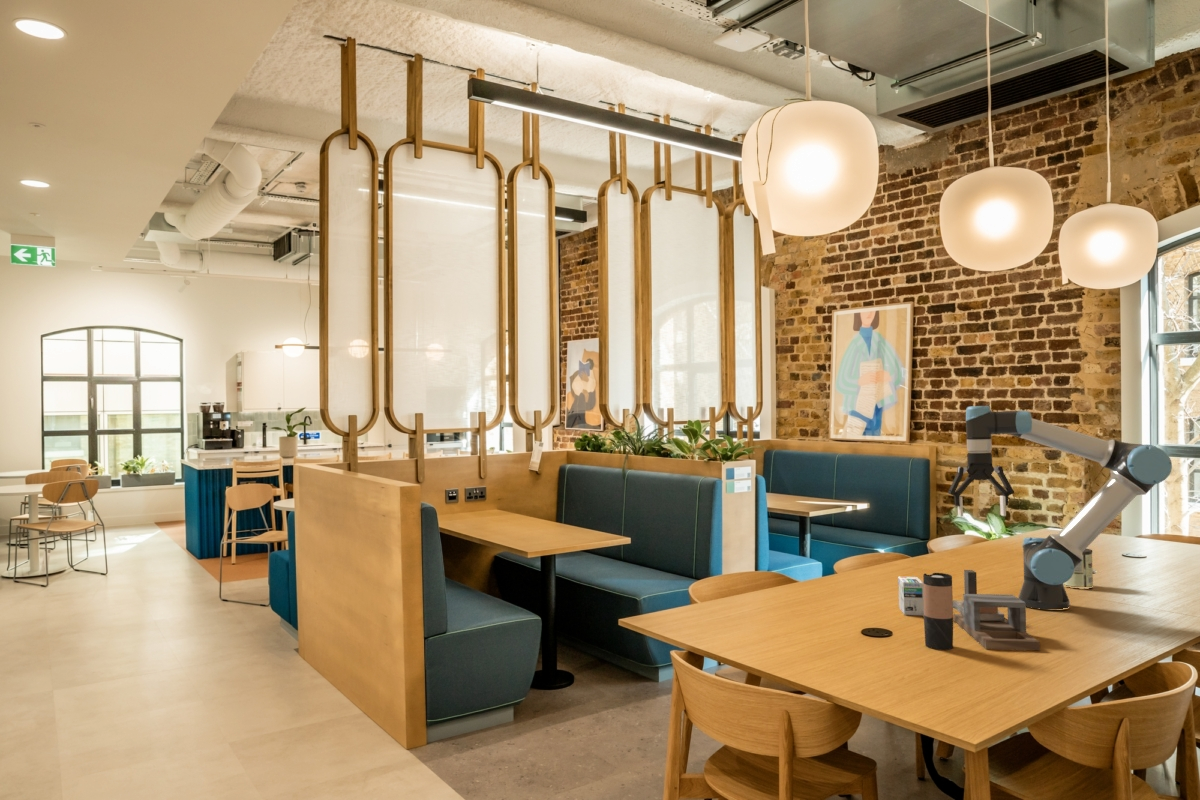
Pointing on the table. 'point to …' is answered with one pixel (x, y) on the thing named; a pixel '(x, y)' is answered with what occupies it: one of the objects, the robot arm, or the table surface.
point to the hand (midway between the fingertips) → (981, 515)
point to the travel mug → (938, 611)
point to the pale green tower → (1082, 572)
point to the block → (988, 610)
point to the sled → (971, 588)
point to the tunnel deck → (997, 623)
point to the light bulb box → (911, 595)
